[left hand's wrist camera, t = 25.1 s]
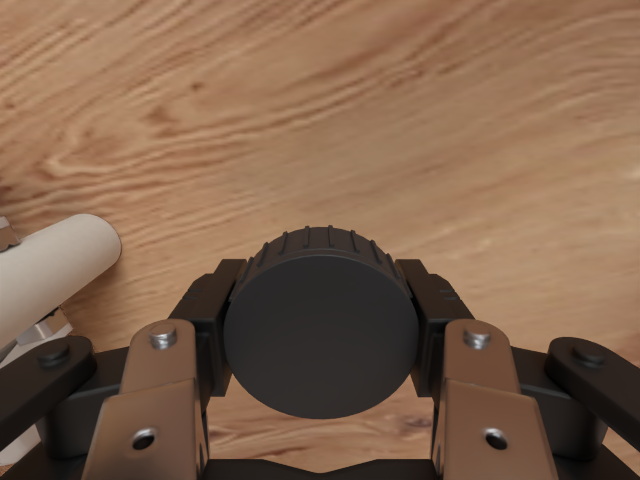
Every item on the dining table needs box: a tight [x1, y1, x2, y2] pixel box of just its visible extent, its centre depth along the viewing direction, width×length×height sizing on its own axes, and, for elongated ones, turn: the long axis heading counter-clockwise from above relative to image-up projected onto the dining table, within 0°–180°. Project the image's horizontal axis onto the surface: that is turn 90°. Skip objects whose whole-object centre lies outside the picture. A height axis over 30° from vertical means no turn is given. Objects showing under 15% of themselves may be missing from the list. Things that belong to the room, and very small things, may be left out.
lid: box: [223, 225, 419, 419], centre depth 10 cm, size 5×5×2 cm
